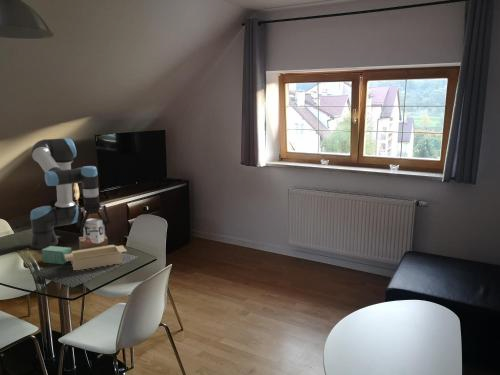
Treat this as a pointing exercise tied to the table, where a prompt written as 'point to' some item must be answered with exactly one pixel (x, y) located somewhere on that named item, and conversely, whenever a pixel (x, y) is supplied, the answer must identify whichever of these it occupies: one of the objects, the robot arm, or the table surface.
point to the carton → (95, 257)
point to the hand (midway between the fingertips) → (94, 237)
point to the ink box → (94, 230)
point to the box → (55, 254)
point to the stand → (91, 245)
